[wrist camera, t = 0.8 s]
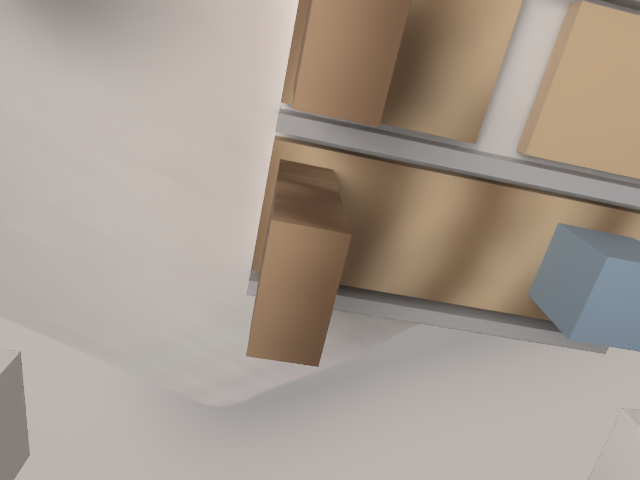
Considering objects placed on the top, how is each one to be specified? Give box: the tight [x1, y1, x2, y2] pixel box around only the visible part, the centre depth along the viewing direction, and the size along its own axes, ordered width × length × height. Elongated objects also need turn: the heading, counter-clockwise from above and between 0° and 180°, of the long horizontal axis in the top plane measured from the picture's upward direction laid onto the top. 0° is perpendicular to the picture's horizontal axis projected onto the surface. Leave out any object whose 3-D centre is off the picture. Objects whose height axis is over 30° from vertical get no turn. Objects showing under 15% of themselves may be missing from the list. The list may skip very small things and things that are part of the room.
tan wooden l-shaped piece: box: [246, 136, 640, 367], centre depth 25 cm, size 24×8×11 cm, turn 78°
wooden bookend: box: [281, 0, 523, 144], centre depth 21 cm, size 11×8×11 cm
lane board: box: [247, 0, 640, 354], centre depth 28 cm, size 24×21×3 cm
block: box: [528, 223, 640, 351], centre depth 28 cm, size 5×5×5 cm
